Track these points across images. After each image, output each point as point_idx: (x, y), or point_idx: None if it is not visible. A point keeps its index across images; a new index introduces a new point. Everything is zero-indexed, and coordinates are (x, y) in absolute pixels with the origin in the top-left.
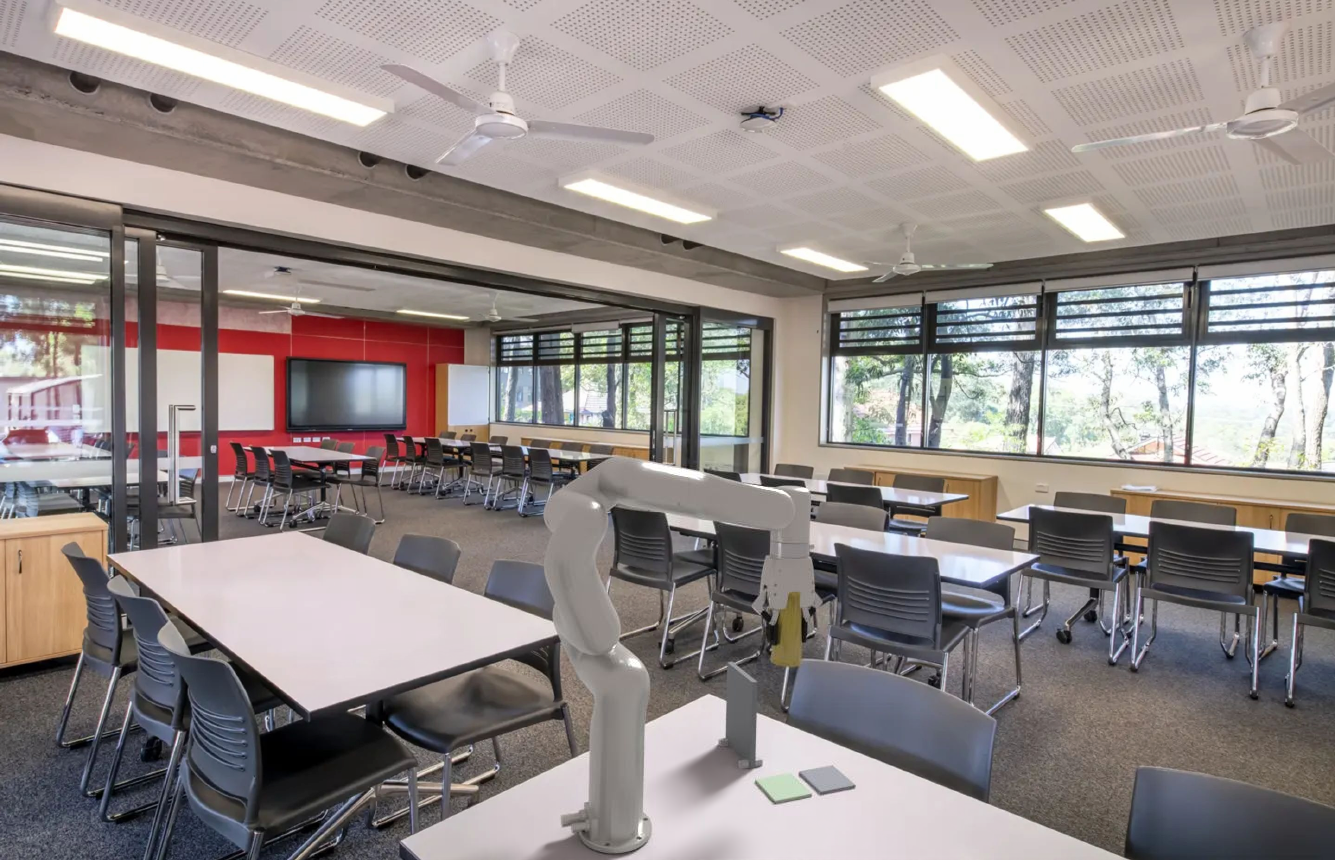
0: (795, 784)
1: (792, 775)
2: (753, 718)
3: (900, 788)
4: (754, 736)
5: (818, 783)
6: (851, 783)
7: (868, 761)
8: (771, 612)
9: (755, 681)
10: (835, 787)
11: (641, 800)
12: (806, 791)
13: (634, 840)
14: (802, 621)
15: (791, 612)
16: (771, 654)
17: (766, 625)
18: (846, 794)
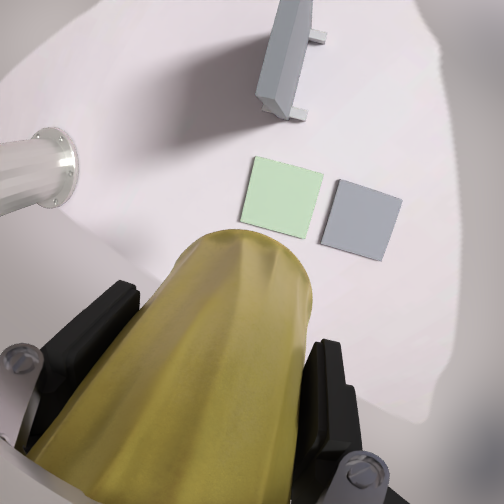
0: (303, 205)
1: (320, 182)
2: (274, 109)
3: (424, 296)
4: (281, 114)
5: (337, 225)
6: (379, 254)
7: (458, 222)
8: (23, 422)
9: (270, 94)
10: (350, 248)
11: (36, 199)
12: (302, 230)
13: (51, 203)
14: (292, 488)
15: None
16: (172, 270)
17: (45, 350)
18: (352, 264)
